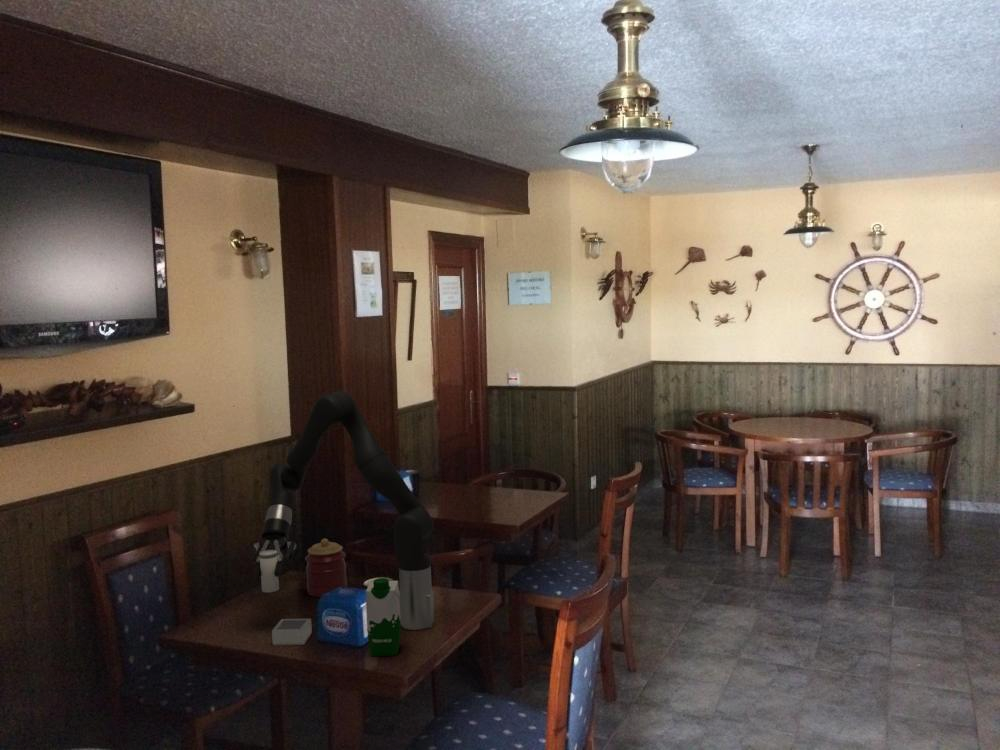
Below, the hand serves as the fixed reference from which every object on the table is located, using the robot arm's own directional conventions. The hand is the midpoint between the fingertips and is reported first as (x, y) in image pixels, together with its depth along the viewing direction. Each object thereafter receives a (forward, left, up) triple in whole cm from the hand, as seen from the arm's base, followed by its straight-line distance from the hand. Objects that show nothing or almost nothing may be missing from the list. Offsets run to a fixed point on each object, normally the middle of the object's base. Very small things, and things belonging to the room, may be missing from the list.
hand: (267, 575), depth 238 cm
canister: (-8, -34, -17) cm, 39 cm away
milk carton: (-36, +14, -17) cm, 42 cm away
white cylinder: (0, -2, -5) cm, 5 cm away
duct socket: (-8, +5, -17) cm, 19 cm away
